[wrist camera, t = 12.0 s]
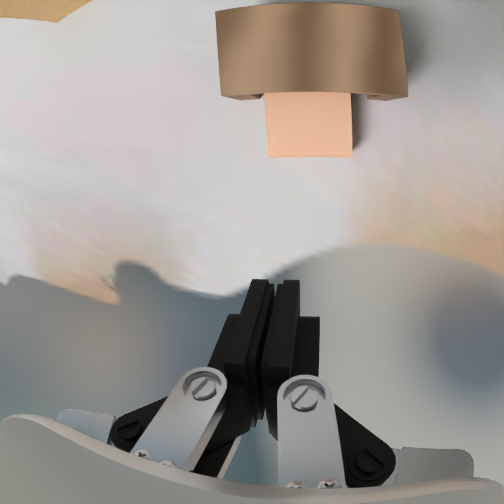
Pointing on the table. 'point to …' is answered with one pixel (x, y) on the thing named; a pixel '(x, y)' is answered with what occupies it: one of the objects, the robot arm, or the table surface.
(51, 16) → the sandwich container
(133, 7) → the table surface
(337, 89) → the wooden bridge block
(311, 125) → the peach flat block
